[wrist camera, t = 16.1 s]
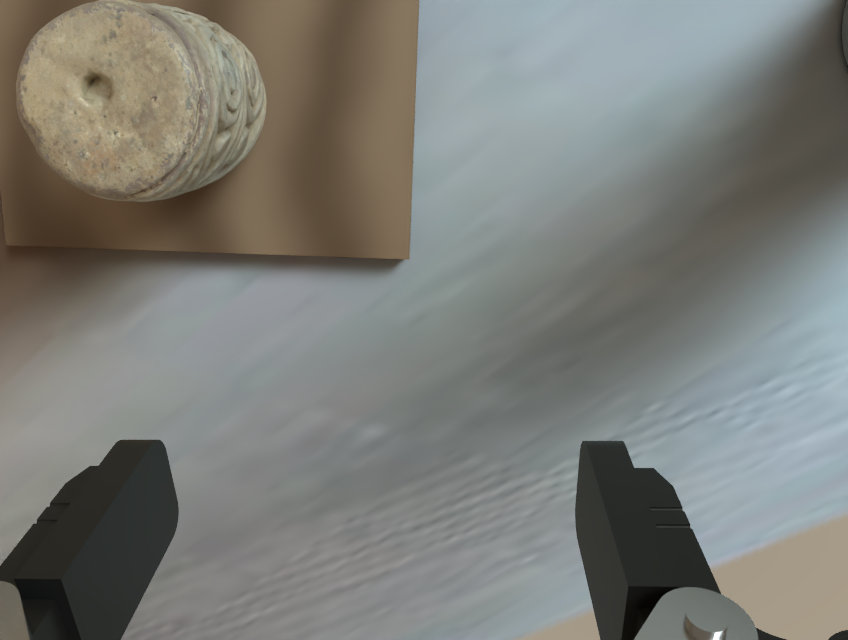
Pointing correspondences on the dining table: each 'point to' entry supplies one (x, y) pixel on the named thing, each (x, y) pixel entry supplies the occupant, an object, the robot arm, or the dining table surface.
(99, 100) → the carving
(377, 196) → the walnut board
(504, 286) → the dining table surface
